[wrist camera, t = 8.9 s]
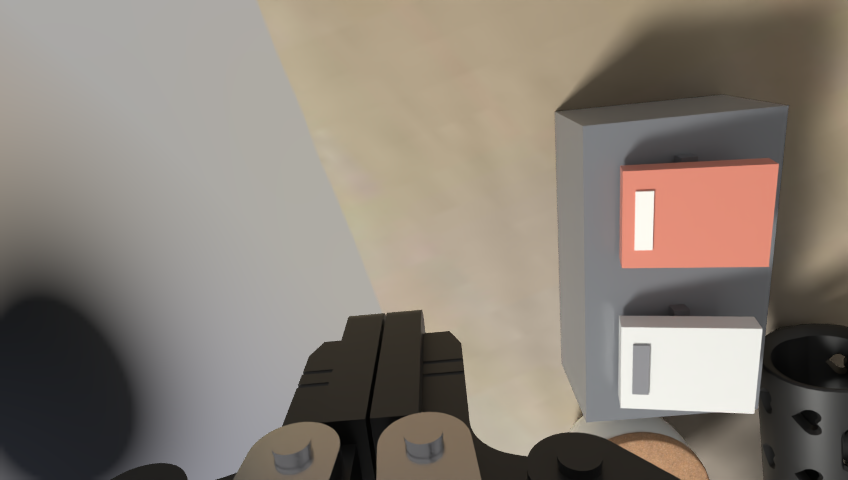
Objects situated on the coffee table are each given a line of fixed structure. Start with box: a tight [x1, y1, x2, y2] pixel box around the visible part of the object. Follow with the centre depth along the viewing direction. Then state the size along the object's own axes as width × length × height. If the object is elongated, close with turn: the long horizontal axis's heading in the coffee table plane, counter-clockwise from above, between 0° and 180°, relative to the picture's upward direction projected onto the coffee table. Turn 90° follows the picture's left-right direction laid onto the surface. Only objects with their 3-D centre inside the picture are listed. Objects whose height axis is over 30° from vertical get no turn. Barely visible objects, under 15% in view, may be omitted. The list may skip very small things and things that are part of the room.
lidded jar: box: [569, 416, 709, 480], centre depth 46 cm, size 11×11×9 cm
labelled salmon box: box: [619, 158, 779, 268], centre depth 33 cm, size 6×8×2 cm
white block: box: [618, 316, 763, 414], centre depth 37 cm, size 6×8×2 cm
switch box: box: [555, 95, 789, 423], centre depth 40 cm, size 21×12×9 cm, turn 6°
